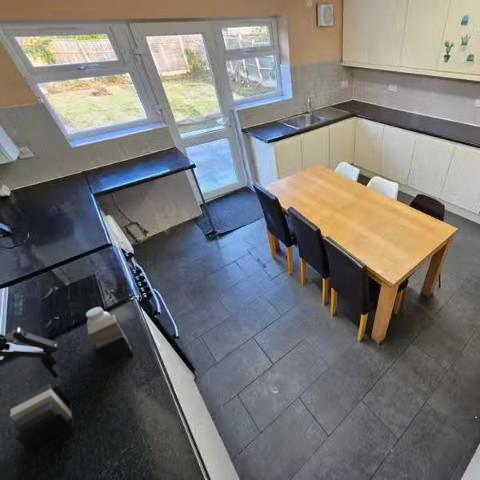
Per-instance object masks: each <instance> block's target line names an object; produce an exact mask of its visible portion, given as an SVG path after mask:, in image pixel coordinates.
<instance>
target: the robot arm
mask: <svg viewBox="0 0 480 480" xmlns="http://www.w3.org/2000/svg"><path fill="white" fill-rule="evenodd" d="M8 341H14V342H20V343H22V345H21V344H15V343H13V342H8ZM58 343H59V342H57V341H54V340H51V339H49V338H45V337H42V336H39V335H36V334H33V333H30V332H27V331H26V330H25V329H24V328H22V327H20V326H16V327H14V328H13V331H11V332H7V333H6V334H1V333H0V357H5V358H9V357H25V358H38V359H40V363H42V364H43V366H44V367H45V368H46V370H48V372H49V373H50V374H51V375H52V376H53V378H54V379H56V378H58V377H60V372H59V371H60V370H59V368H58V366H57V364H58V359H57V357H56V355H55V354H54V353H56V352H57V351H58V350H59V344H58ZM23 344H25V345H23Z"/></svg>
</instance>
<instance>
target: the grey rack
mask: <svg viewBox="0 0 480 480" xmlns="http://www.w3.org/2000/svg"><path fill="white" fill-rule="evenodd" d="M49 389H51V390H52V391H53V392H54V393H55V394H56V395H57V396H58V398H59V399H60V400H61V401H62V402H63V403H64V404H65V405H66V406H67V408H68V409H69V410H70V411H71V416H72V418H71V419H69V420H66V419H65V417H64V416H63V415H62V414H61V413H60V412H59V411H58V410H57V409H56V408H55V407H54V406H53V405H52V404H51V403H50V402H49V403H47V404H45V405H43V406H42V407H40V408H38V409H36V410H34V411H32V412H30V413H29V414H27V415H25V416H23V417H21V418H19V419H17V420H16V422H15V421H14V423H15V425H14V429H15V430H16V431H18V433H17V434H15V436H14V438H15V439H16V441H18V442H19V443H20V444H22V445H23V446H24V447H25V448H26V449H28V450H29V451H30V452H31V454H33V455H35V454H37V453H39V452H40V451H42V450H43V449H45V448H47V447H49V446H50V445H53V443H55V442H57V441H59V440H60V439H62V438H64V437H65V436H67V435H69V434H70V433H71V432H73V431H75V427H74V426H75V425H74V416H73V407H72V399H71V398H70V397H69V396H68V395H67V394H66V393H65V391H64V390H63V389H62V388H61V386H60V385H59V384H58V383H56V384H53V385H52V384H51V383H48V384H45V385H44V386H42V387H40V388H38V389H36V390H33V391H32V392H30V393H28V394H26V395H24V396H22V397H20V398H18V399H17V400H16V406H18V405H20V404H22V403H24V402H26V401H28V400H30V399H32V398H34V397H36V396H38V395H40V394H41V393H43V392H45V391H47V390H49Z"/></svg>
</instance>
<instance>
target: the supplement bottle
mask: <svg viewBox="0 0 480 480" xmlns="http://www.w3.org/2000/svg"><path fill="white" fill-rule="evenodd" d="M85 316H86V318H87V321H86V325H87V326H89V325H91V324H93V323H95V322H98V321H100V320H102V319H105V318H107V317H109V316H111V314H110V313H109V312H108V311H104V309H103V308H102V307H101V306H96V307H93V308H91V309H89V310H88V311H87V312H85Z"/></svg>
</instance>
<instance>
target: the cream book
mask: <svg viewBox="0 0 480 480" xmlns="http://www.w3.org/2000/svg"><path fill="white" fill-rule="evenodd" d="M49 402H50V403H51V404H52V405H53V406H54V407H55V408H56V409H57V410H58V411H59V412H60V413H61V414H62V415H63V416H64V417H65V419H66V420H69V419H71V418H72V416H71V411H70V410H69V409H68V408H67V406H66V405H65V404H64V403H63V402H62V401H61V400H60V399H59V398H58V396H57V395H56V394H55V393H54V392H53V391H52V390H51V389H49V390H47V391H45V392H43V393H41V394H40V395H38V396H36V397H34V398H32V399H30V400H28V401H26V402H24V403H22V404H20V405H18V406H17V405H16V406H14V407H12V408H11V409H10V413H9V417H10V418H11V419H12V420H13V421H14V423H15V422H16V420H17V419H19V418H21V417H23V416H25V415H27V414H29V413H30V412H32V411H34V410H36V409H38V408H40V407H42V406H43V405H45V404H47V403H49Z"/></svg>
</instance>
